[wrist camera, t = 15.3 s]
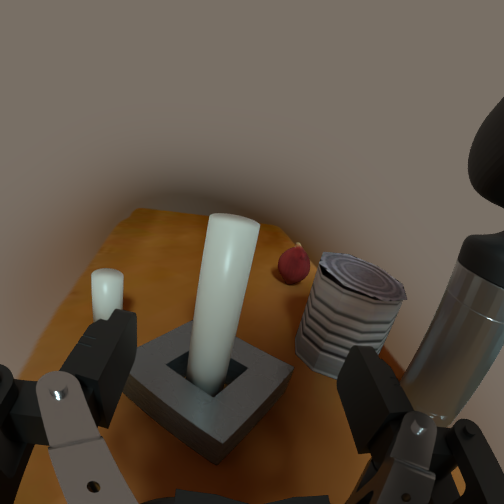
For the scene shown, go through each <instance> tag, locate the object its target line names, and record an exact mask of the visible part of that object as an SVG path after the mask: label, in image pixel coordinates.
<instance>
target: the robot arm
mask: <svg viewBox="0 0 504 504" xmlns="http://www.w3.org/2000/svg"><path fill="white" fill-rule="evenodd" d="M468 174H469V178H470V181H471V184H472V186H473V187H474V189H475V190H476V191H477V192H478V193H479V194H480V195H481V196H482V197H484V198H485V199H487V200H488V201H490V202H492V203H494V204H496V205H498V206H500V207H502V208H504V97H503V98H502V99H501V101H500V102H499V103H498V104H497V105H496V106H495V108H494V109H493V110H492V111H491V112H490V114H489V115H488V116H487V117H486V119H485V120H484V122H483V123H482V125H481V127H480V128H479V130H478V132H477V134H476V136H475V138H474V141H473V143H472V146H471V149H470V153H469V159H468ZM503 345H504V231H502V232H499V233H496V234H488V235H470V236H468V237H467V238H466V239H465V240H464V242H463V245H462V247H461V250H460V253H459V256H458V260H457V262H456V264H455V267H454V270H453V272H452V275H451V277H450V280H449V283H448V285H447V288H446V290H445V293H444V295H443V297H442V300H441V302H440V304H439V307H438V309H437V311H436V313H435V316H434V318H433V320H432V322H431V324H430V326H429V328H428V330H427V332H426V334H425V336H424V338H423V340H422V342H421V344H420V346H419V348H418V350H417V352H416V354H415V356H414V358H413V359H412V361H411V363H410V364H409V366H408V368H407V370H406V372H405V373H404V375H403V377H402V378H401V380H400V382H399V381H398V379H396V376H395V374H394V372H393V370H392V369H391V367H390V366H389V365H388V364H387V363H386V362H385V361H383V360H382V359H380V358H379V356H378V355H377V353H376V351H375V349H374V348H373V347H372V346H361V345H353V346H352V347H351V349H350V351H349V353H348V355H347V357H346V359H345V362H344V364H343V366H342V368H341V370H340V372H339V374H338V377H337V390H338V393H339V396H340V399H341V402H342V405H343V408H344V411H345V414H346V417H347V420H348V423H349V426H350V429H351V432H352V435H353V438H354V442H355V445H356V448H357V451H358V454H365V453H371V456H372V457H371V458H370V460H369V461H368V462H367V464H366V466H365V469H364V471H363V473H362V474H361V476H360V478H359V480H358V482H357V484H356V486H355V488H354V490H353V492H352V493H351V495H350V497H349V498H348V500H347V501H346V502H345V503H344V504H504V473H503V472H502V469H501V467H500V465H499V463H498V461H497V459H496V457H495V456H494V453H493V452H492V450H491V448H490V446H489V444H488V443H487V440H486V439H485V437H484V435H483V433H482V431H481V430H480V428H479V427H478V426H477V425H476V424H475V423H474V422H472V421H471V420H468V419H460V420H458V421H457V422H456V423H455V424H454V425H453V427H452V428H446V427H448V426H449V425H450V424H451V423H452V422H453V421H454V419H455V418H456V417H457V415H458V414H459V413H460V411H461V410H462V409H463V407H464V406H465V405H466V403H467V402H468V401H469V399H470V398H471V396H472V395H473V393H474V392H475V391H476V389H477V388H478V386H479V385H480V383H481V381H482V380H483V378H484V377H485V375H486V374H487V372H488V371H489V369H490V367H491V366H492V364H493V362H494V361H495V359H496V357H497V355H498V354H499V352H500V350H501V348H502V346H503ZM136 352H137V316H136V313H134V312H130V311H125V310H121V309H115V310H114V311H113V313H112V314H111V316H110V317H109V319H108V320H103V319H99V320H97V321H96V322H94V323H92V324H91V325H89V327H88V328H87V330H86V331H85V332H84V334H83V336H82V337H81V338H80V340H79V341H78V344H76V346H75V347H74V349H73V350H72V352H71V353H70V355H69V356H68V358H67V359H66V361H65V362H64V364H63V365H62V367H61V369H60V370H59V371H53V372H49V373H47V374H45V375H43V376H42V377H41V378H40V379H39V380H38V381H26V380H17V379H14V378H13V375H12V373H11V371H10V370H9V369H8V368H7V367H6V366H4V365H1V364H0V504H13V503H14V500H15V497H16V494H17V491H18V488H19V485H20V482H21V479H22V477H23V474H24V471H25V468H26V466H27V463H28V461H29V458H30V455H31V453H32V450H33V448H34V445H35V444H39V445H47V446H50V447H48V451H49V455H50V458H51V461H52V464H53V467H54V470H55V473H56V476H57V478H58V481H59V484H60V486H61V489H62V491H63V494H64V496H65V499H66V501H67V503H68V504H138V502H137V500H136V499H135V497H134V495H133V494H132V492H131V490H130V489H129V487H128V485H127V483H126V482H125V480H124V478H123V476H122V474H121V472H120V471H119V469H118V467H117V465H116V463H115V461H114V459H113V457H112V455H111V453H110V451H109V449H108V447H107V445H106V443H105V441H104V439H103V437H102V436H100V434H99V431H98V429H97V428H98V426H100V427H104V428H107V429H108V428H109V425H110V422H111V420H112V417H113V414H114V412H115V409H116V406H117V404H118V401H119V399H120V396H121V394H122V391H123V388H124V386H125V383H126V381H127V378H128V376H129V374H130V371H131V369H132V366H133V364H134V361H135V357H136ZM457 466H458V467H459V469H460V472H461V474H462V476H463V479H464V481H465V484H466V489H465V492H464V493H463V495H462V496H461V497H460V495H459V492H458V490H457V487H456V485H455V482H454V480H453V477H452V475H451V472H452V471H453V470H454V469H455V468H456V467H457ZM141 504H248V503H244V502H240V501H236V500H233V499H229V498H226V497H222V496H219V495H216V494H208V493H200V492H193V491H186V490H180V489H176V493H175V497H166V498H159V499H154V500H150V501H147V502H144V503H141ZM266 504H330V502H329V497H328V495H323V496H308V497H292V498H288V499H284V500H280V501H275V502H271V503H266Z"/></svg>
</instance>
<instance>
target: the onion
mask: <svg viewBox="0 0 504 504" xmlns="http://www.w3.org/2000/svg"><path fill="white" fill-rule="evenodd" d="M278 270H279V272H280V274H281V276H282V277H283V279H284V280H285V282H286V283H287V284H293V283H297V282H299V281H301V280H303V279H304V278H305V277H306V276H307V275H308V273H309V271H310V260H309V257H308V255H307V253H306V252H305V251H304V250H303V248H302V247H301V244H300V243H296V245H295V247H293V248H290V249H288V250H287V251H285V252H284V253H283V254H282V255H281V256H280V259H279V262H278Z"/></svg>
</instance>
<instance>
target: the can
mask: <svg viewBox="0 0 504 504" xmlns="http://www.w3.org/2000/svg"><path fill="white" fill-rule="evenodd" d="M403 300H407V297H406V293H405V290H404V286H403V284H402V283H400V282H399V281H398V280H396V279H395V278H394V277H392V276H391V275H389V274H388V273H387V272H386V271H384V270H383V269H382V268H380V267H379V266H376V265H374V264H372V263H369V262H366V261H364V260H362V259H359V258H357V257H354V256H352V255H350V254H342V253H329V252H323V255H322V257H321V260H320V262H319V266H318V269H317V272H316V275H315V279H314V282H313V285H312V288H311V291H310V295H309V298H308V301H307V304H306V307H305V310H304V313H303V316H302V319H301V322H300V325H299V328H298V331H297V334H296V337H295V352H296V355H297V356H298V357H299V358H300V359H301V360H302V361H303V362H304V363H305V364H306V365H307V366H308V367H309V368H310V369H311V370H312V371H314V372H317V373H320V374H323V375H325V376H328V377H331V378H334V379H336V380H337V377H338V374H339V372H340V370H341V368H342V366H343V364H344V362H345V359H346V357H347V355H348V353H349V351H350V349H351V347H352V346H353V345H361V346H372V347H373V348H374V349H375V351H376V353H377V355H379V353H380V351H381V348H382V346H383V344H384V342H385V340H386V338H387V336H388V334H389V332H390V329H391V327H392V325H393V323H394V321H395V318H396V316H397V313H398V311H399V309H400V307H401V304H402V302H403Z"/></svg>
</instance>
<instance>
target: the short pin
mask: <svg viewBox="0 0 504 504" xmlns="http://www.w3.org/2000/svg"><path fill="white" fill-rule="evenodd" d="M92 307H93V323H94V322H96V321H97V320H99V319H103V320H108V319H109V317H110V316H111V314H112V313H113V311H114V310H115V309H121V310H123V274H122V273H121V272H120V271H118V270H115V269H109V268H104V269H98V270H96V271H94V272H93V273H92Z"/></svg>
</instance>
